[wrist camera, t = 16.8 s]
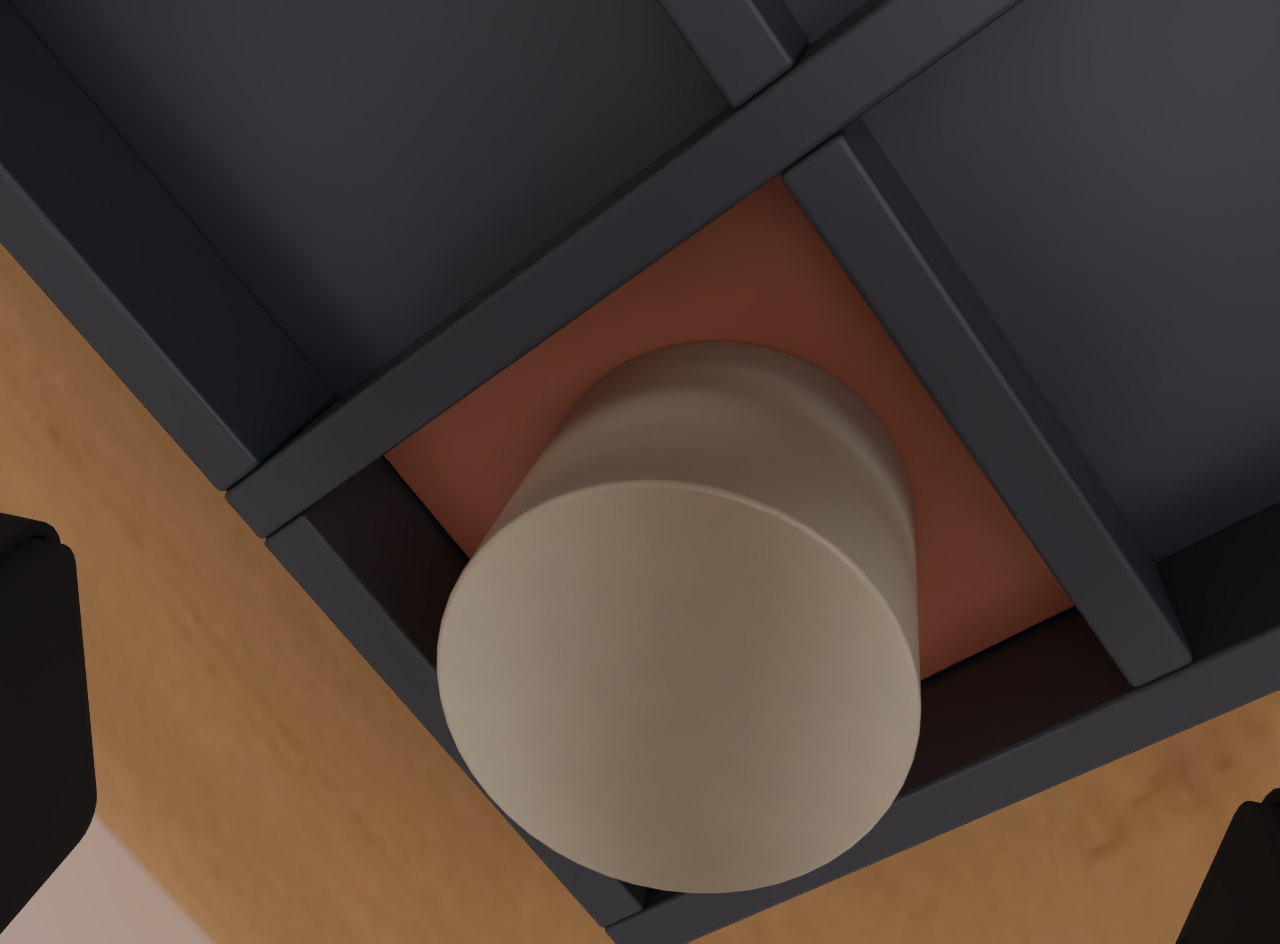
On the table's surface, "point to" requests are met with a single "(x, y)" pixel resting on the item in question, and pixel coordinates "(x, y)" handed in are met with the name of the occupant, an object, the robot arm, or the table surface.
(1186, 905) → the table surface
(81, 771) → the robot arm
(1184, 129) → the grid
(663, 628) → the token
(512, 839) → the table surface
